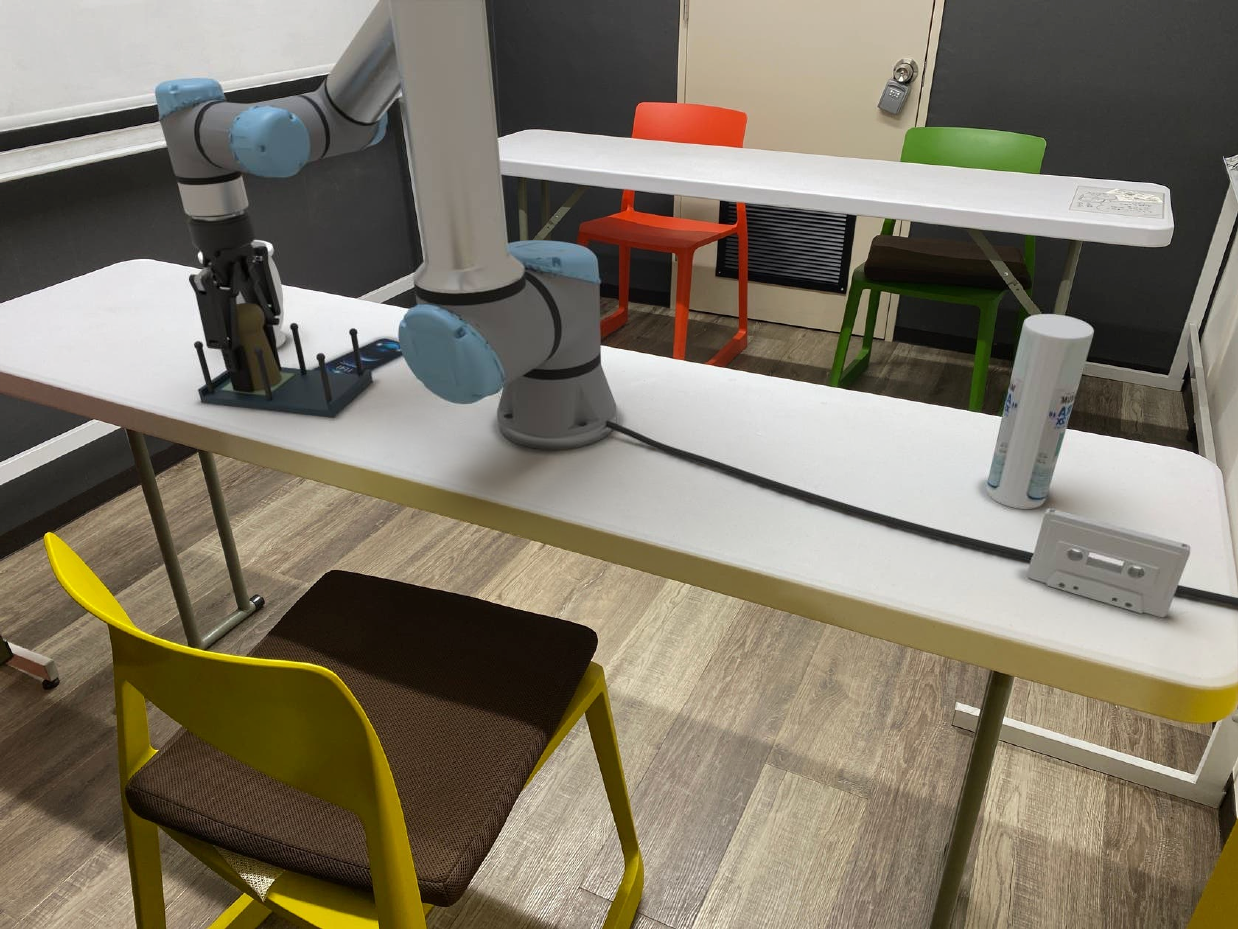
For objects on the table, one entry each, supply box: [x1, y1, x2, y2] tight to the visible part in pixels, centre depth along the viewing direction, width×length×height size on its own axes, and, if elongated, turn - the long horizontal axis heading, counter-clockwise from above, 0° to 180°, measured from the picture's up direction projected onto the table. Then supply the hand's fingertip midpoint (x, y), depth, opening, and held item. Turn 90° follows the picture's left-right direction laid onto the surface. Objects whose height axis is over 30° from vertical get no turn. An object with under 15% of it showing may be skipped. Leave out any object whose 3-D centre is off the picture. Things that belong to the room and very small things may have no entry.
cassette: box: [1027, 508, 1191, 618], centre depth 83 cm, size 12×2×8 cm, turn 59°
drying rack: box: [193, 322, 374, 419], centre depth 122 cm, size 20×11×9 cm, turn 76°
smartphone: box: [311, 338, 403, 375], centre depth 134 cm, size 8×1×15 cm
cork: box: [237, 303, 282, 391], centre depth 122 cm, size 6×6×11 cm
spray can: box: [986, 313, 1095, 510], centre depth 95 cm, size 6×6×20 cm
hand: (258, 379), depth 125 cm, fingers closed on cork, 6 cm apart
